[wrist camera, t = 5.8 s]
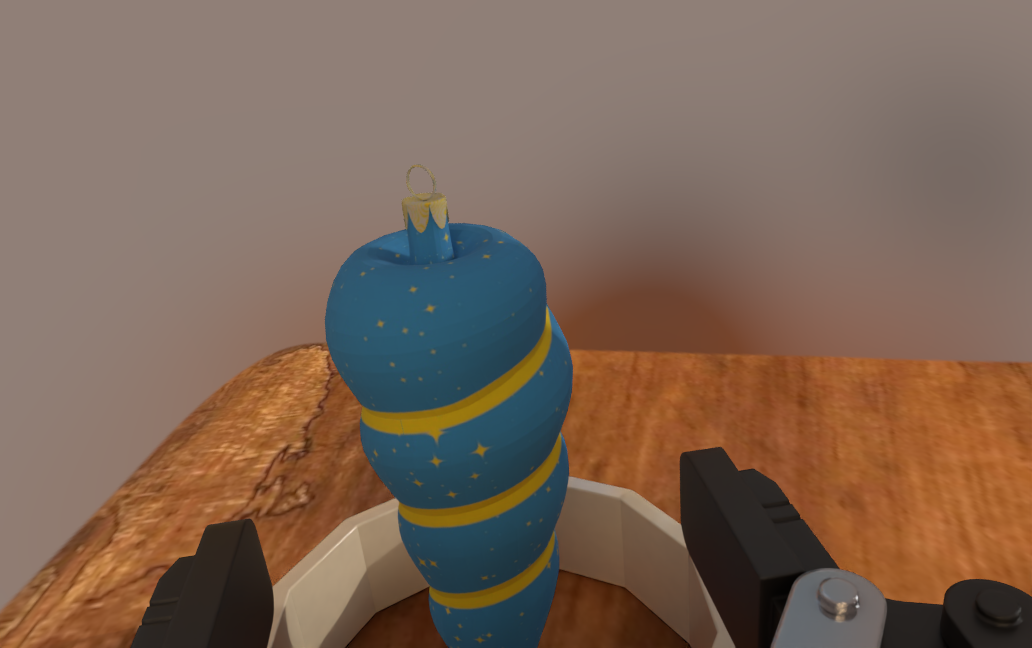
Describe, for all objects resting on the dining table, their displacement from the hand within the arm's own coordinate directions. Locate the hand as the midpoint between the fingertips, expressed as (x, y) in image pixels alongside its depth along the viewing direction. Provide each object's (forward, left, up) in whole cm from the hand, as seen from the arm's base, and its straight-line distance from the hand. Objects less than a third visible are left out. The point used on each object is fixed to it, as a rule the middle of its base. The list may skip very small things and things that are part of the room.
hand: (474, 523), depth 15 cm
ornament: (-2, -3, -9) cm, 10 cm away
